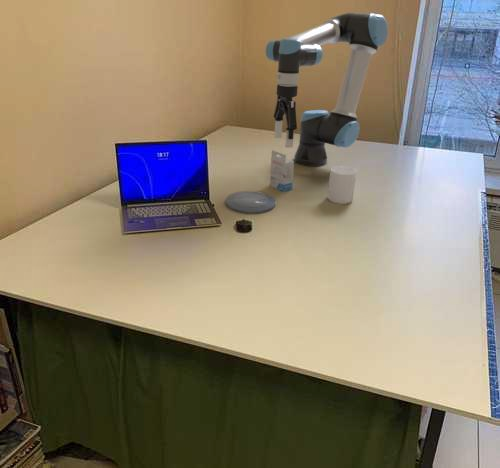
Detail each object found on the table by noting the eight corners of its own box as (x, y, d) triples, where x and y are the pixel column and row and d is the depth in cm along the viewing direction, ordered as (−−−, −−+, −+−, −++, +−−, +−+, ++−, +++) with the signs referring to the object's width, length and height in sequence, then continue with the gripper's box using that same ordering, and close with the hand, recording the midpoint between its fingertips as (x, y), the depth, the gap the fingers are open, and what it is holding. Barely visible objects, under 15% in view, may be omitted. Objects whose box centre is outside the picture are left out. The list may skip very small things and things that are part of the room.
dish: (267, 192, 186) (267, 189, 185) (281, 211, 170) (281, 207, 170) (221, 195, 182) (221, 192, 181) (231, 215, 166) (232, 211, 165)
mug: (336, 206, 177) (340, 175, 171) (318, 194, 186) (321, 165, 181) (357, 202, 180) (362, 172, 175) (338, 191, 190) (342, 163, 185)
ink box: (292, 189, 190) (295, 153, 184) (283, 191, 188) (285, 155, 181) (278, 183, 196) (280, 147, 190) (269, 185, 193) (271, 149, 187)
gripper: (267, 79, 184) (264, 134, 194) (288, 90, 163) (284, 152, 172) (286, 79, 186) (282, 133, 195) (309, 90, 164) (303, 151, 174)
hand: (283, 142), depth 184 cm, fingers open, 13 cm apart
